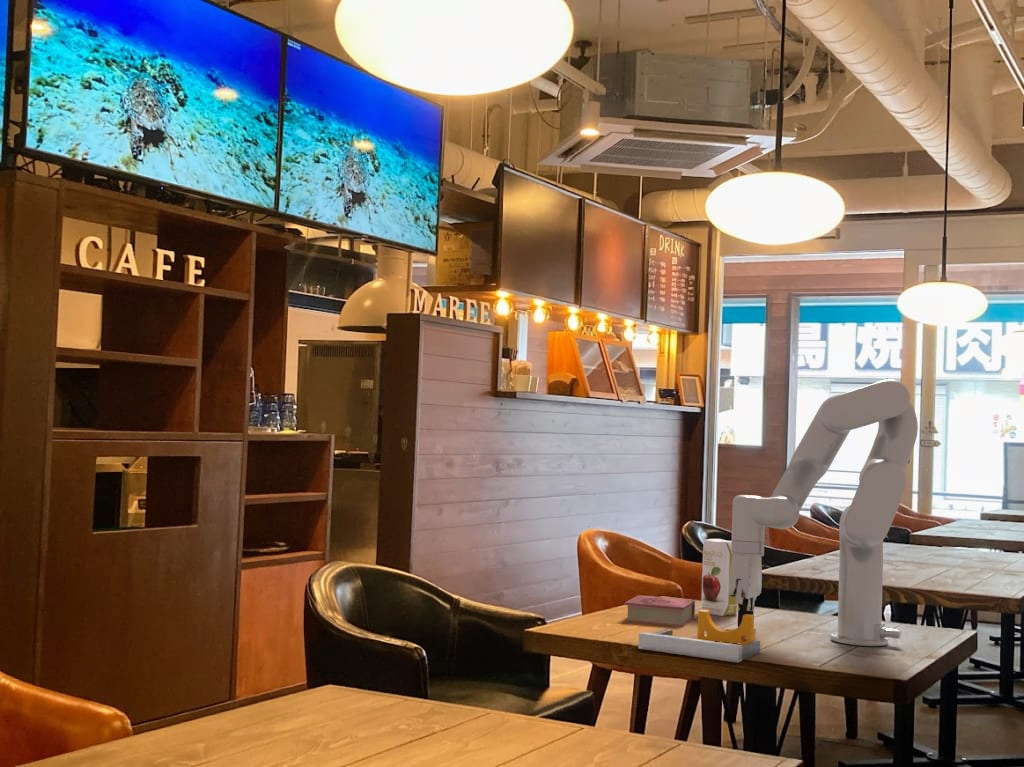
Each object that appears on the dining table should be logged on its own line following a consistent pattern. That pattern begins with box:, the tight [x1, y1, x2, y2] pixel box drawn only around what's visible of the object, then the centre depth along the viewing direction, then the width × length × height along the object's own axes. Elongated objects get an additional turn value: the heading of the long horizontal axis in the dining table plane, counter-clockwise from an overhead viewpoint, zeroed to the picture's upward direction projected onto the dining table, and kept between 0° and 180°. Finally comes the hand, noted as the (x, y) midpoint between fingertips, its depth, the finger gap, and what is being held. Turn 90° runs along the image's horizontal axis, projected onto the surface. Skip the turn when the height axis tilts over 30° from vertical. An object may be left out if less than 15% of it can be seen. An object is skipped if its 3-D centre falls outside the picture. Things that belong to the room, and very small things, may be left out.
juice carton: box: [701, 538, 738, 617], centre depth 297 cm, size 8×9×19 cm
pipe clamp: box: [696, 609, 757, 645], centre depth 256 cm, size 12×4×6 cm, turn 65°
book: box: [624, 594, 696, 628], centre depth 283 cm, size 14×15×5 cm
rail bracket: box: [637, 628, 761, 664], centre depth 243 cm, size 22×14×3 cm, turn 59°
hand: (745, 627), depth 267 cm, fingers closed
